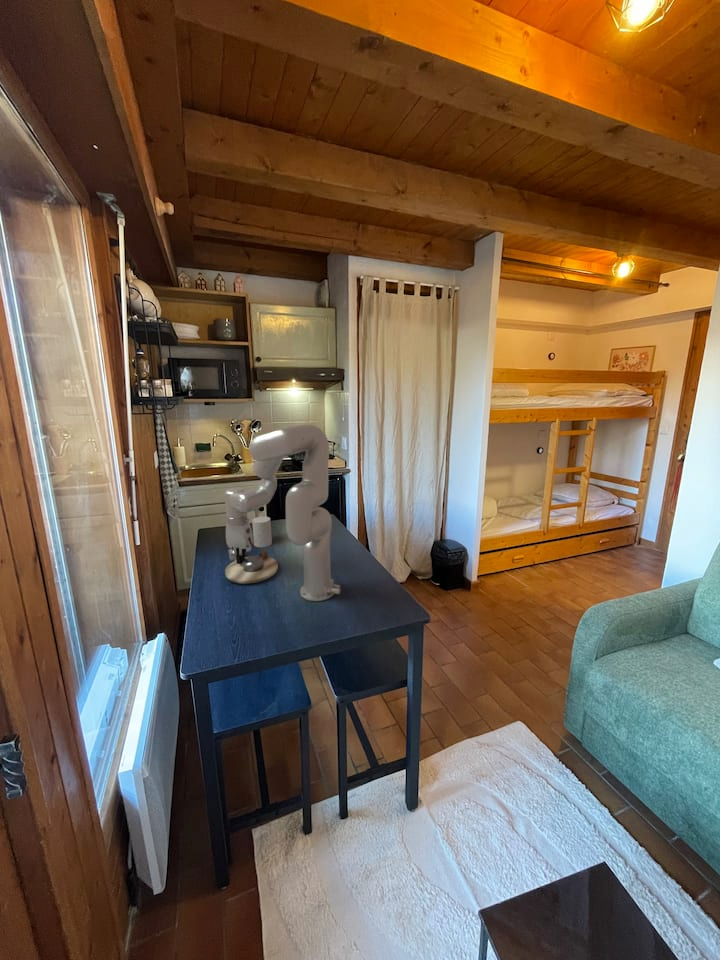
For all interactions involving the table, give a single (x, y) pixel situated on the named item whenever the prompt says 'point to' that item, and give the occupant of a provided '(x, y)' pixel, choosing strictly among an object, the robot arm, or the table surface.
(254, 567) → the disc
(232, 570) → the turntable
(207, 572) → the table surface
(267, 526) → the cup
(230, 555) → the dial gauge
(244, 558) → the robot arm
